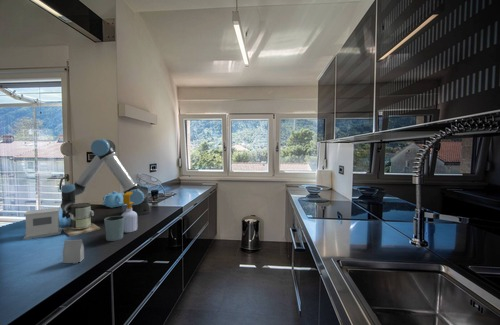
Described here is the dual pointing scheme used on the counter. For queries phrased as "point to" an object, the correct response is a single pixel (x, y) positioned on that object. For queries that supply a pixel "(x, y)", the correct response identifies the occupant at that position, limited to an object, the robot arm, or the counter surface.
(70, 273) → the counter surface
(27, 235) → the label unit
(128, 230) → the spray bottle
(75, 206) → the coffee can
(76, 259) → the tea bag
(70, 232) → the pad
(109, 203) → the decorative pot
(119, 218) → the green tapered cup
